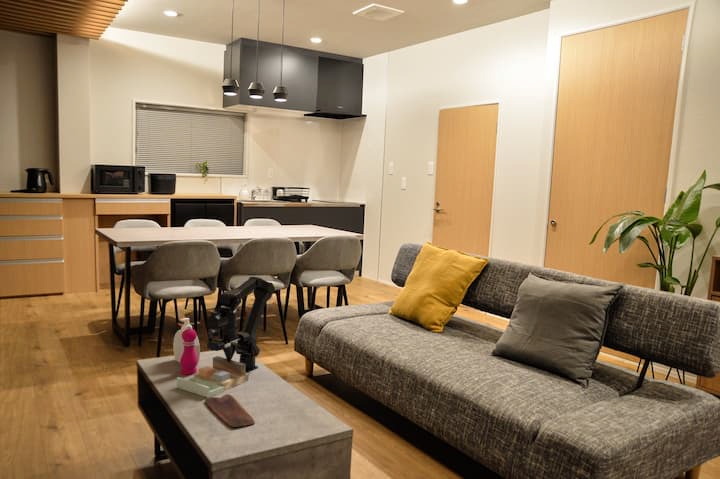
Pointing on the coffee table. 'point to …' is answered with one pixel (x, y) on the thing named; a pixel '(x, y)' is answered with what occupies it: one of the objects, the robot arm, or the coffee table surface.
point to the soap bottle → (178, 342)
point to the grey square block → (221, 376)
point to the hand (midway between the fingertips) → (228, 361)
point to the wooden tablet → (230, 410)
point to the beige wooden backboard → (228, 383)
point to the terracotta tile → (206, 371)
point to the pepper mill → (189, 352)
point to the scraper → (229, 366)
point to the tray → (199, 387)
